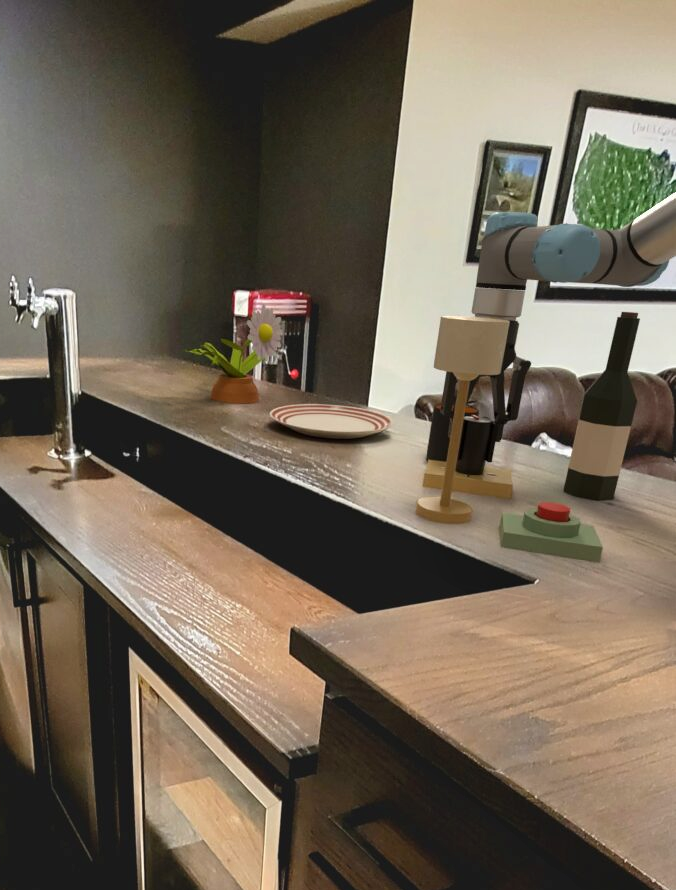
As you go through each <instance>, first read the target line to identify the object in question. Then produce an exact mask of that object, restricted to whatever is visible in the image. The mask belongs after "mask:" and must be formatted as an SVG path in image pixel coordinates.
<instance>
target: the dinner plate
mask: <svg viewBox="0 0 676 890" xmlns="http://www.w3.org/2000/svg"><path fill="white" fill-rule="evenodd" d="M268 415H269V417H270V418H271V419H272V420H274V421H275V422H277V423H279V424H281V425H282V426H284V427H287V428H289V429H290V430H292V431H294V432H296V433H299V434H302V435H307V436H311V437H315V438H324V439H336V440H345V439H346V440H350V439H352V440H353V439H360V438H365V437H367V436H371V435H374V434H379V433H381V432H385V431H386V430H388V429H390V428H392V427H393V426H394V423H395V422H394V420H393V418H391V417H390V416H388V415H387V414H384V413H382V412H379V411H376V410H372V409H367V408H362V407H354V406H348V405H339V404H337V405H336V404H323V403H303V404H302V403H301V404H300V403H299V404H290V405H289V404H288V405H283V406H279V407H276V408H273V409H272V410H271V411H270V412H269V414H268Z"/></svg>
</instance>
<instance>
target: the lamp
mask: <svg viewBox="0 0 676 890" xmlns="http://www.w3.org/2000/svg"><path fill="white" fill-rule="evenodd" d="M509 322H510V321H507V320H501V319H492V318H480V317H475V316H466V315H465V316H464V315H441V316H440V320H439V327H438V333H437V340H436V346H435V347H436V348H435V353H434V360H433V368H434V369H435V370H438V371H443V372H446V371H447V372H453V374H454V375H455V376H456V378H457V380H459V381H458V388H457V394H456V399H457V400H456V399H455V402H456V406H455V412H454V418H453V424H452V431H451V437H450V443H449V449H448V455H447V462H446V468H445V474H444V480H443V487H442V489H441V493H440V494H441V495H440V496H425V497H421V498H419V499H417V501H416V506H415V514H416V515H418V516H419V517H420V518H423V519H425V520H428V521H431V522H435V523H441V524H448V525H458V524H459V525H461V524H466V523H469V522H470V521H471V520H472V514H473V507H472V506H471V504H468V503H466V502H464V501H461V500H459V499H453V498H452V493H453V491H452V487H453V481H454V475H455V469H456V463H457V457H458V450H459V444H460V438H461V432H462V426H463V420H464V414H465V408H466V402H467V396H468V390H469V384H470V381H471V380H473V379H475V378H476V377H478V375H498V374H500V373H501V367H502V362H503V356H504V350H505V345H506V339H507V334H508V328H509Z"/></svg>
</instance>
